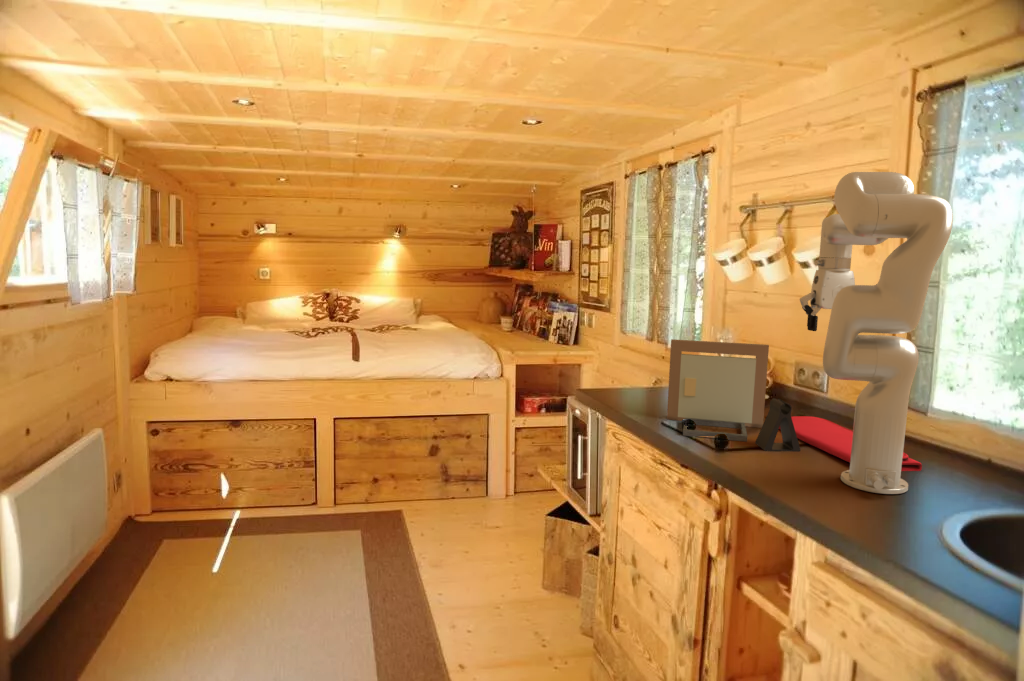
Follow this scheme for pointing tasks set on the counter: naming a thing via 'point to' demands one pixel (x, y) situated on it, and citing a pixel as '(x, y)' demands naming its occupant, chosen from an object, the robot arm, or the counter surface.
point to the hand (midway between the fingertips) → (829, 330)
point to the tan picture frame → (717, 382)
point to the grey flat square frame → (719, 424)
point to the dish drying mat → (835, 439)
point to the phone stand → (774, 419)
